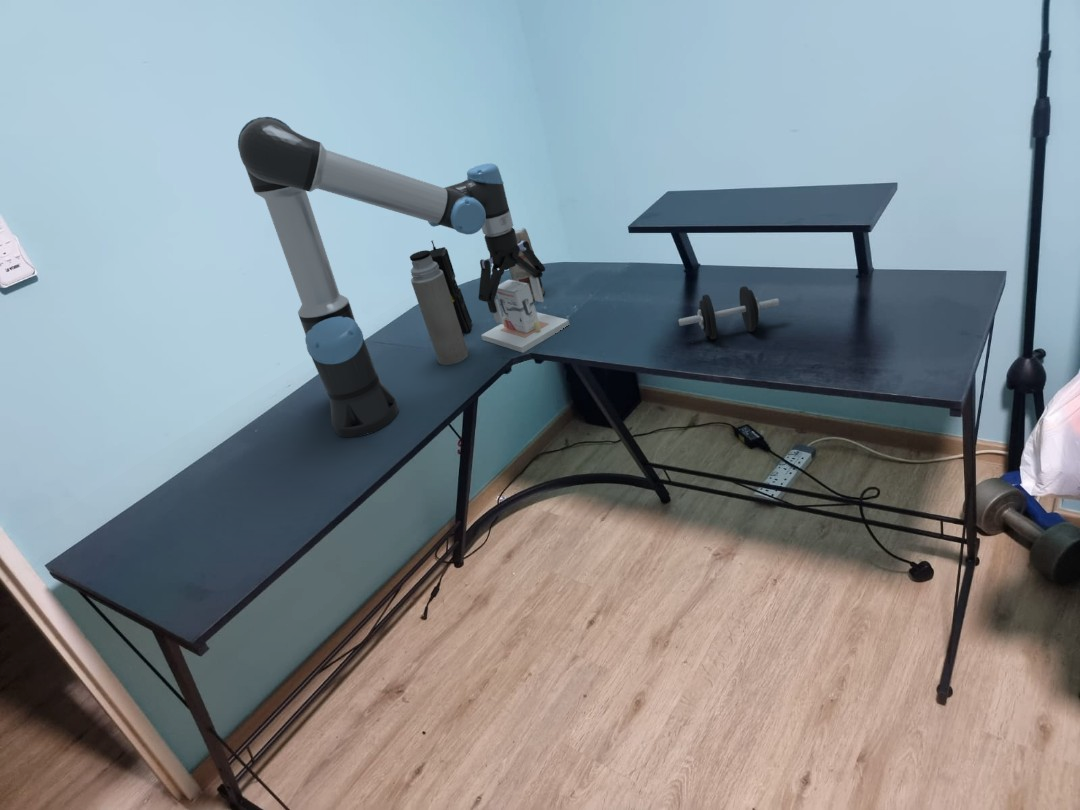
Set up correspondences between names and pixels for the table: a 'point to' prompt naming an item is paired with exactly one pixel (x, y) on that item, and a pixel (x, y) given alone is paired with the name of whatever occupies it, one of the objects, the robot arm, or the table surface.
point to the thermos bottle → (437, 309)
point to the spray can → (517, 271)
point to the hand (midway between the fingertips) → (520, 311)
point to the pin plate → (525, 340)
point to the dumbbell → (729, 312)
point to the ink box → (517, 305)
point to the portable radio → (452, 287)
